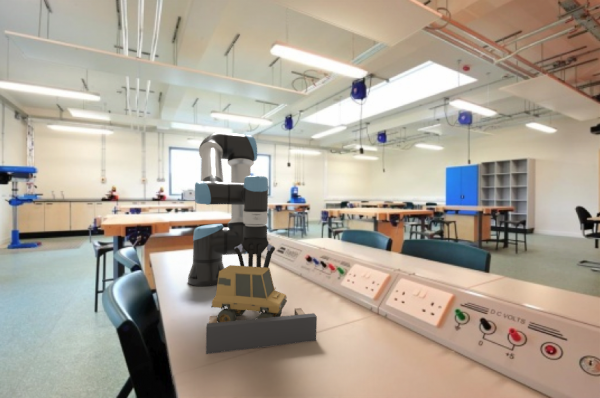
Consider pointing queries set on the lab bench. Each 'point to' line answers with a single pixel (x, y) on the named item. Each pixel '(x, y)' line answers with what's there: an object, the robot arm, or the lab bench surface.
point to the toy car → (247, 293)
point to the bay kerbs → (297, 312)
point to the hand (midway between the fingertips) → (253, 298)
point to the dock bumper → (260, 332)
